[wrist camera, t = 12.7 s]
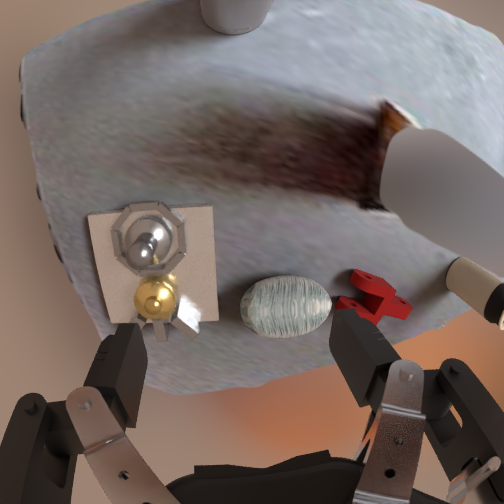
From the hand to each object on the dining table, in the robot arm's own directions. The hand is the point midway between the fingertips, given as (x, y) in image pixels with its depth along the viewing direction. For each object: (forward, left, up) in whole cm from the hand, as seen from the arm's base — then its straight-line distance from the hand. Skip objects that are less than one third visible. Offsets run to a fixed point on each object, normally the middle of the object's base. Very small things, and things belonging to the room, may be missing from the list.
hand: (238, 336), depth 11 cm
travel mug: (+16, +50, -30) cm, 61 cm away
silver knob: (+5, -10, -28) cm, 30 cm away
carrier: (+10, -10, -30) cm, 33 cm away
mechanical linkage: (+18, +27, -31) cm, 45 cm away
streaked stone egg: (+16, +9, -30) cm, 36 cm away
